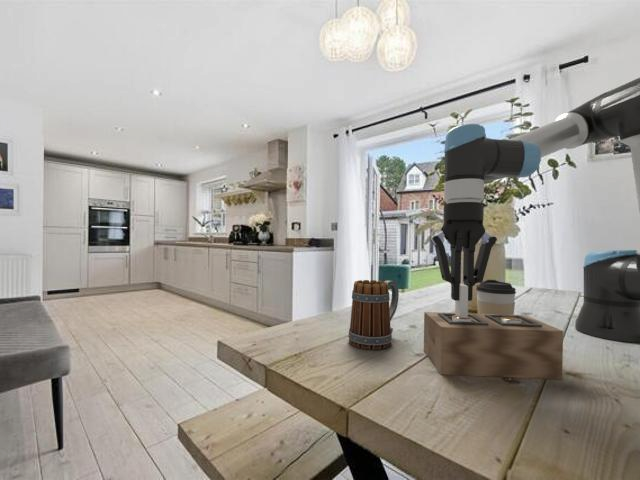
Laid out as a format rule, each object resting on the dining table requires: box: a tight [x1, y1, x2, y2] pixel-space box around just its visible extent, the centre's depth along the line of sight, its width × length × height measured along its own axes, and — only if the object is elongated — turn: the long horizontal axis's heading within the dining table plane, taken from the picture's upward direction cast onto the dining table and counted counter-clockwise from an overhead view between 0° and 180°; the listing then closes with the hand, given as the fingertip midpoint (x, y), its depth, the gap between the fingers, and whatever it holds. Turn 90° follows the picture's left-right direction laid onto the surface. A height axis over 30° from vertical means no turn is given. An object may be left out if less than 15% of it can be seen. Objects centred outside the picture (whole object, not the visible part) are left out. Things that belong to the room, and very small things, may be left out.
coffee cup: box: [475, 279, 517, 315], centre depth 80 cm, size 9×9×15 cm
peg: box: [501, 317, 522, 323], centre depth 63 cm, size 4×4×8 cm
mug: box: [348, 279, 400, 351], centre depth 77 cm, size 16×11×15 cm
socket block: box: [423, 311, 564, 380], centre depth 64 cm, size 22×12×9 cm, turn 86°
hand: (461, 316), depth 64 cm, fingers closed
